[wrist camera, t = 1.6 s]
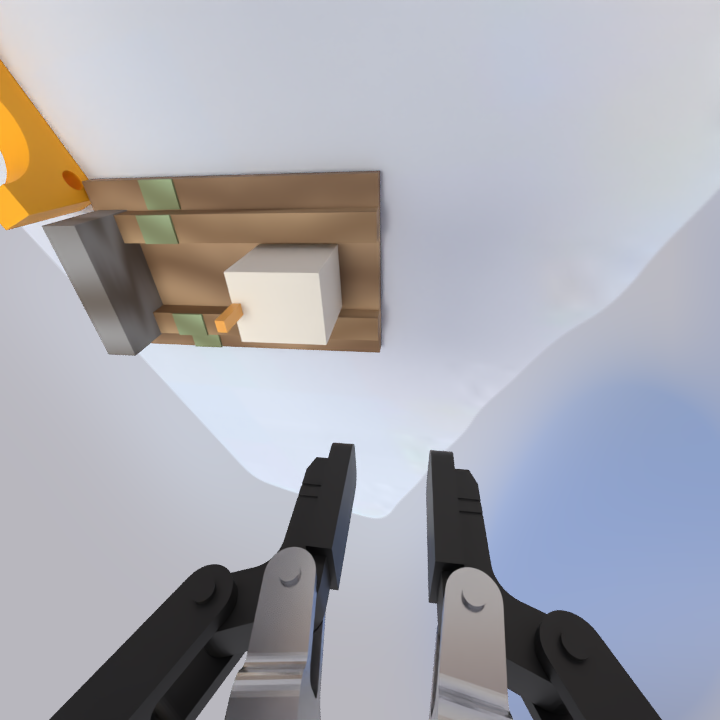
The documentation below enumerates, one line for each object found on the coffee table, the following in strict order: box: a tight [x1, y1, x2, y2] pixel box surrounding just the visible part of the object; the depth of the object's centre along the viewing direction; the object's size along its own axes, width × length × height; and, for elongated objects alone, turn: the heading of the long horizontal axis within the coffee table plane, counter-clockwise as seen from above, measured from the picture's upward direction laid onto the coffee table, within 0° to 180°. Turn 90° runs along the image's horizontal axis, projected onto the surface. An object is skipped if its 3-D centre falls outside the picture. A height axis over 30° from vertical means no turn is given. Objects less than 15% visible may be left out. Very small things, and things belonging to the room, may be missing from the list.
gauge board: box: [42, 171, 381, 356], centre depth 27 cm, size 14×22×6 cm, turn 92°
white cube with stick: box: [215, 244, 342, 345], centre depth 24 cm, size 5×6×8 cm
